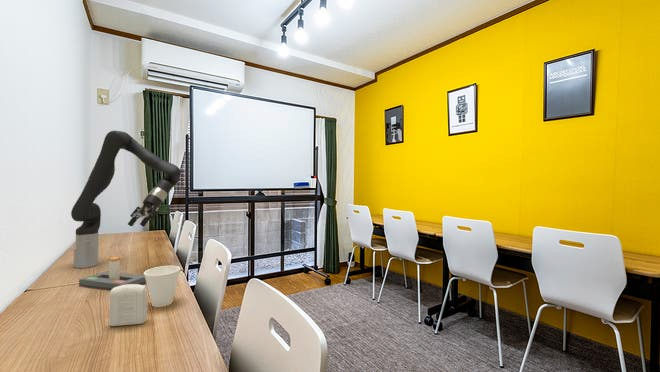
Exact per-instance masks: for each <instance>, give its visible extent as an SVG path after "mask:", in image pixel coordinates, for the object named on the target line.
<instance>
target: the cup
mask: <svg viewBox="0 0 660 372" xmlns="http://www.w3.org/2000/svg"><path fill="white" fill-rule="evenodd" d="M180 270H181V267H180V266H178V265H177V266H176V265H161V266H156V267H152V268H149V269H146V270H145V271H144V272H143V275H145V279H146V283H145V284H146V287H147V292H148V294H149V295H148V296H149V300H150V303H151V306H152V307H153V306H154V307H153V308H162V307H163V306H164V307H167V306H170V305H171V303H172V302H173V303H174V299H175V294H176V291H177V286H178V280H179V276H180ZM173 303H172V304H173ZM169 304H170V305H169ZM166 305H167V306H166Z"/></svg>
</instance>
